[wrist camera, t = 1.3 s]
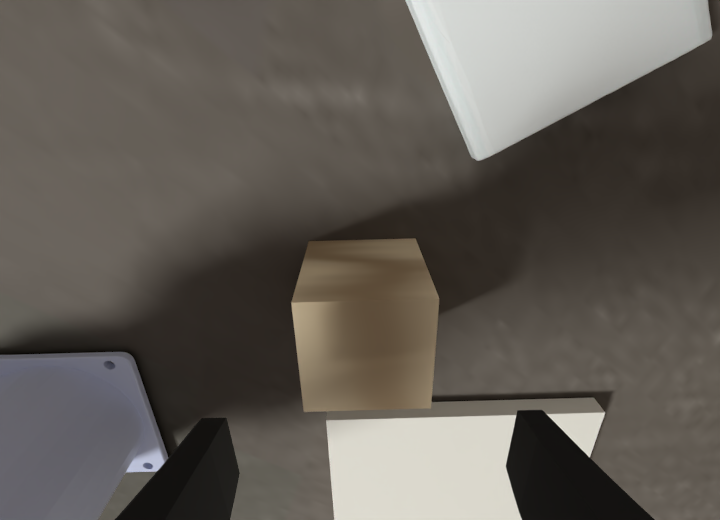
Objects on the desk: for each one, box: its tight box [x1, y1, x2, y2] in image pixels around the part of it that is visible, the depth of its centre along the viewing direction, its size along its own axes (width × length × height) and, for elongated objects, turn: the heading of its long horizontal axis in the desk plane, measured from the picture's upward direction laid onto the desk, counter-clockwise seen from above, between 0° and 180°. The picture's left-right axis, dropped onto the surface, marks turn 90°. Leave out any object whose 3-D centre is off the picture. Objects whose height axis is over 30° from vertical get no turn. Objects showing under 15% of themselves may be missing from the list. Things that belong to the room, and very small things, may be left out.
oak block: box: [291, 238, 439, 412], centre depth 15 cm, size 4×4×5 cm
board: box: [326, 398, 605, 520], centre depth 22 cm, size 14×14×1 cm
